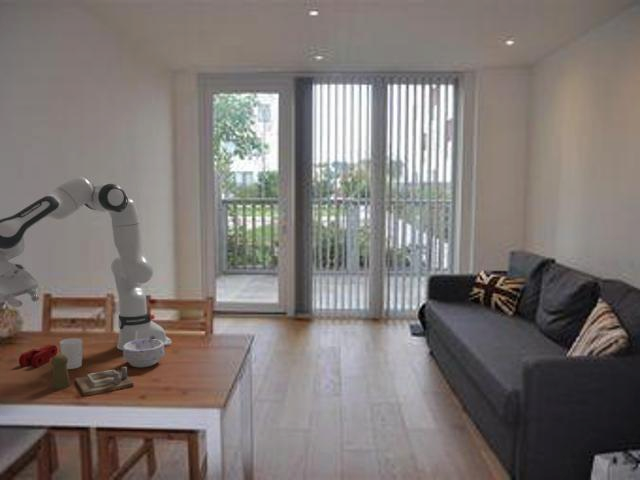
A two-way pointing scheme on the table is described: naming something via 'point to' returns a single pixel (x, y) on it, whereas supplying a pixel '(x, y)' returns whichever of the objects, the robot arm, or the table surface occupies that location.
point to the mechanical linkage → (38, 356)
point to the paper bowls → (143, 352)
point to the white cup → (72, 352)
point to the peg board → (104, 381)
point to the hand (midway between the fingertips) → (28, 303)
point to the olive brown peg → (60, 372)
